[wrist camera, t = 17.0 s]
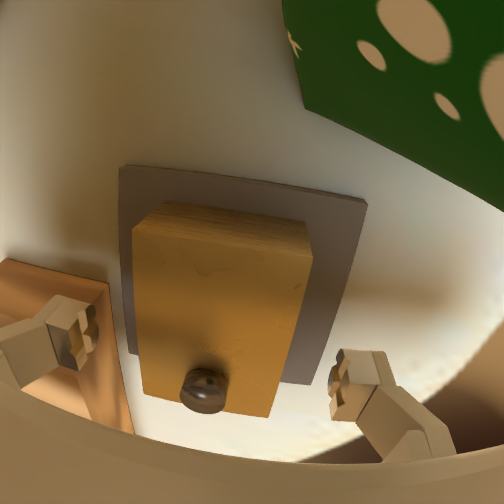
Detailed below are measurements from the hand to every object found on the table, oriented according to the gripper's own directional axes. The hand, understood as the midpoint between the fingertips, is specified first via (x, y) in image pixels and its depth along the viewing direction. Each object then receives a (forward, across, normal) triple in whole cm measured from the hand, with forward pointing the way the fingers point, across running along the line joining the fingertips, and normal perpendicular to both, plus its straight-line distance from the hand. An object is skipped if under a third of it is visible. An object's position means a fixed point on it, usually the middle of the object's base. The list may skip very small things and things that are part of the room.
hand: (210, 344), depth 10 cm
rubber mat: (+4, 0, 0) cm, 4 cm away
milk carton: (+4, -5, -11) cm, 13 cm away
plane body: (+4, +9, +9) cm, 13 cm away
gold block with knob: (+3, 0, 0) cm, 3 cm away
